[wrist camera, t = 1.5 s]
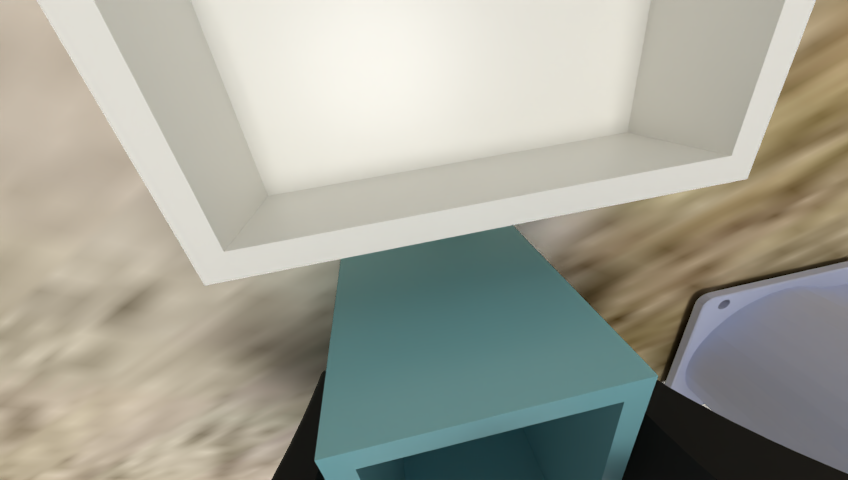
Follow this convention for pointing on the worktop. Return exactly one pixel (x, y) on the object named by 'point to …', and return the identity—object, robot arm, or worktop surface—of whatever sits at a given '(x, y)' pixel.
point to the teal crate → (474, 369)
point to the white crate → (420, 112)
